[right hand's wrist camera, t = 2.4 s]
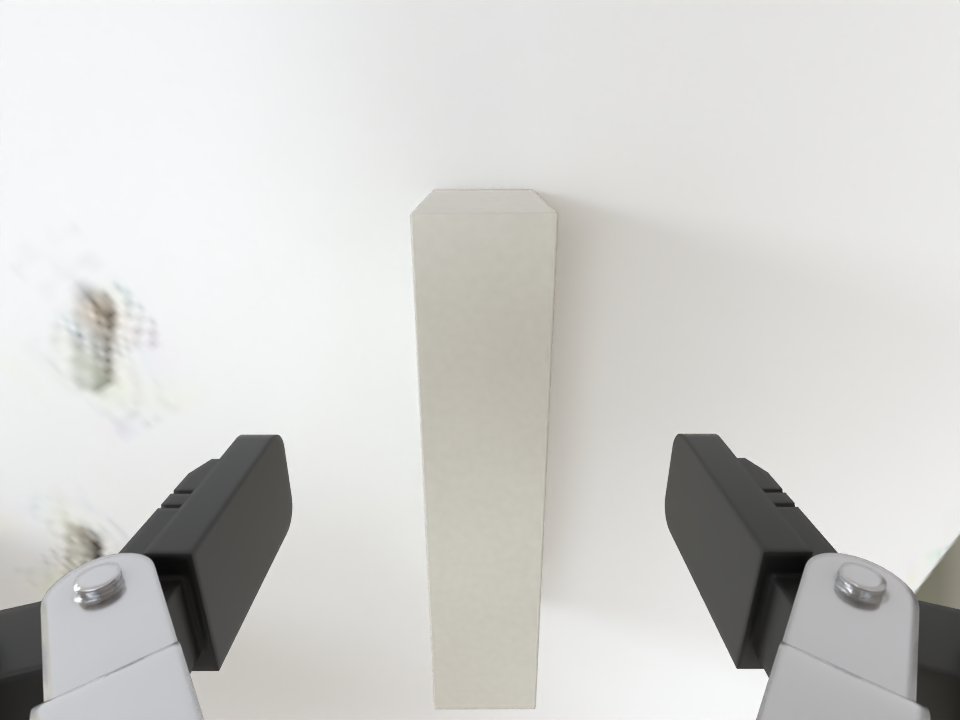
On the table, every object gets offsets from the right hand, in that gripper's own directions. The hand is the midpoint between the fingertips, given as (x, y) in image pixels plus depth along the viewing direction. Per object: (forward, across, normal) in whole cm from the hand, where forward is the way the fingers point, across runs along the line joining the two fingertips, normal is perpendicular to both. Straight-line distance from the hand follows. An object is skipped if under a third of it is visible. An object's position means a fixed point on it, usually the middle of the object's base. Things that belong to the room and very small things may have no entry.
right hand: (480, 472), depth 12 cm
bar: (+18, 0, -7) cm, 20 cm away
